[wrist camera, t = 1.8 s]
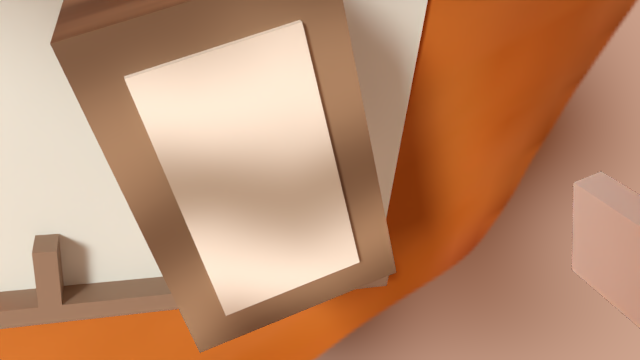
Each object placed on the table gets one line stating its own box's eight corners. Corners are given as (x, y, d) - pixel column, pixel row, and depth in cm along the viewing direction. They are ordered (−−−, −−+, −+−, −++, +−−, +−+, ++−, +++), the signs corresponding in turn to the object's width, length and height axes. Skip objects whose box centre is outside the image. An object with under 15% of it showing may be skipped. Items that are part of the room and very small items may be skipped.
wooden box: (68, -15, 23) (49, 46, 15) (261, -72, 24) (337, -42, 16) (174, 226, 29) (200, 357, 21) (323, 171, 30) (399, 276, 22)
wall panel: (-67, -107, 20) (-83, -104, 19) (432, -54, 27) (454, -49, 25) (-1, 302, 28) (-8, 329, 27) (372, 265, 35) (386, 285, 33)
